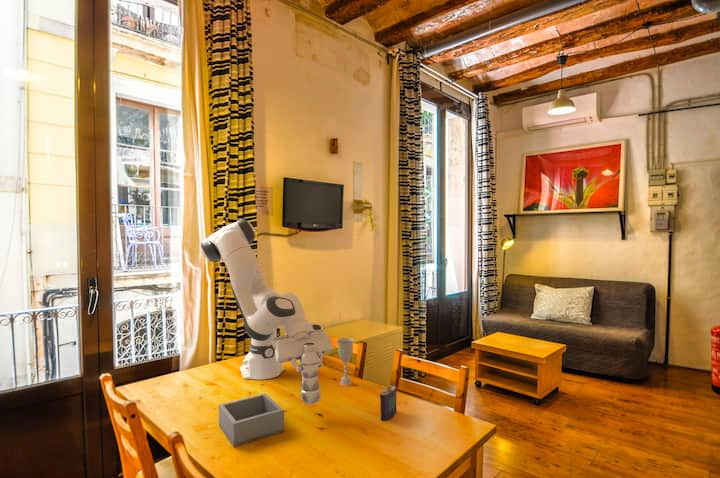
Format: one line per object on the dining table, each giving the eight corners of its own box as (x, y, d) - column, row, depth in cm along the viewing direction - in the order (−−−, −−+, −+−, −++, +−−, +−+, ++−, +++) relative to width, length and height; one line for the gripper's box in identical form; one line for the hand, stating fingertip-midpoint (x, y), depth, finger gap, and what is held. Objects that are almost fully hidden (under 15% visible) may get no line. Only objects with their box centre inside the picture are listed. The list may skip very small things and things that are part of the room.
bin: (218, 425, 132) (218, 404, 132) (265, 413, 141) (265, 393, 141) (233, 447, 119) (233, 423, 119) (284, 431, 128) (283, 409, 128)
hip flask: (391, 409, 143) (391, 380, 143) (399, 411, 141) (398, 381, 141) (378, 420, 135) (378, 388, 135) (386, 422, 133) (386, 390, 133)
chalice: (346, 378, 173) (346, 337, 173) (357, 382, 169) (357, 340, 168) (333, 383, 168) (333, 340, 168) (344, 387, 163) (344, 343, 163)
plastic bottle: (317, 407, 133) (316, 347, 132) (298, 405, 134) (296, 346, 133) (322, 398, 139) (321, 341, 139) (304, 397, 140) (302, 341, 140)
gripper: (272, 333, 137) (282, 370, 129) (326, 324, 147) (339, 358, 139) (268, 343, 141) (278, 379, 132) (321, 334, 151) (334, 367, 143)
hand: (310, 368), depth 136 cm, fingers closed on plastic bottle, 6 cm apart
